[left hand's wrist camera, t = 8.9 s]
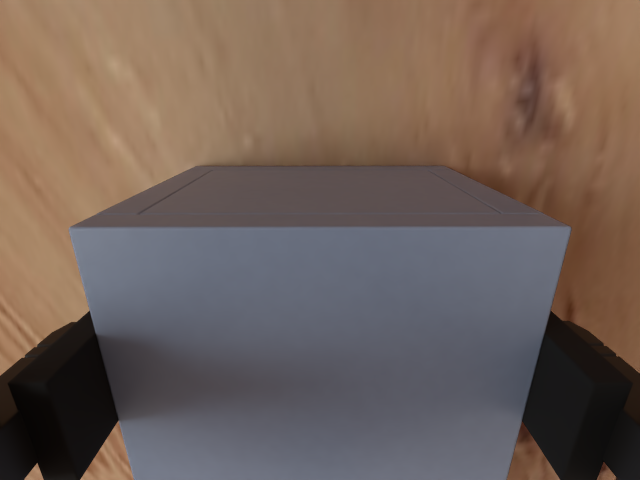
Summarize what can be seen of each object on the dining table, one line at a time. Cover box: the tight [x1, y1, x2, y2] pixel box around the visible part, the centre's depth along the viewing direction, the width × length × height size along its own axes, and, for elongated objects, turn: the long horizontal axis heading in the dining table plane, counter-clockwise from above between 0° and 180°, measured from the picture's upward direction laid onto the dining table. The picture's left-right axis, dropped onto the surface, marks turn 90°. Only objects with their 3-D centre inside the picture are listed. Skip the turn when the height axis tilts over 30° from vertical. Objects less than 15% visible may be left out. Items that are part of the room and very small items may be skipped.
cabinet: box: [69, 166, 571, 480], centre depth 14 cm, size 18×11×8 cm, turn 0°
